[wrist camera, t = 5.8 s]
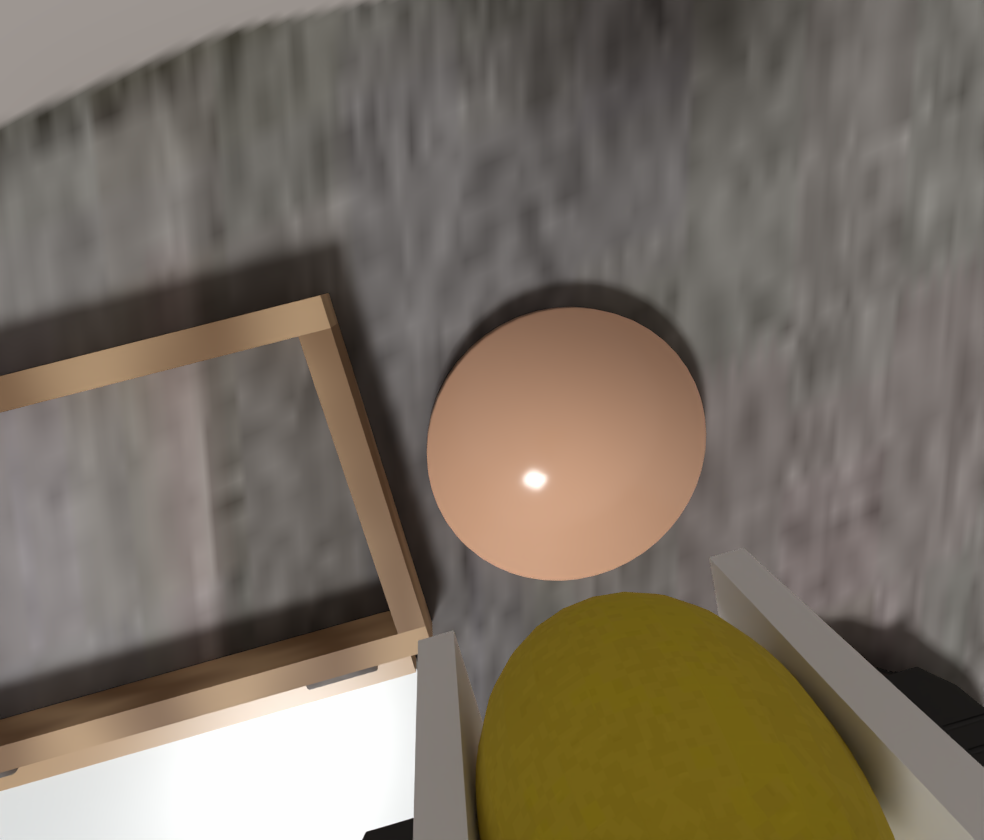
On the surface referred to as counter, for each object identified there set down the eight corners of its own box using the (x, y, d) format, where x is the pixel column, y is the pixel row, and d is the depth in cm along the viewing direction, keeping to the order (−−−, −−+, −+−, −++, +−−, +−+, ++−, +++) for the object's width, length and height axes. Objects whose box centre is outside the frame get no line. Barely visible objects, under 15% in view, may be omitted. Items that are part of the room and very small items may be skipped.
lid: (57, 970, 30) (44, 993, 29) (-71, 772, 26) (-89, 791, 25) (477, 843, 31) (479, 861, 30) (409, 637, 27) (408, 650, 26)
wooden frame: (-94, 785, 26) (-135, 826, 24) (-314, 455, 22) (-384, 473, 20) (436, 635, 28) (437, 662, 26) (328, 292, 23) (320, 295, 21)
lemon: (747, 669, 13) (1173, 1215, 6) (533, 780, 14) (670, 1451, 6) (652, 472, 12) (1060, 863, 4) (412, 601, 12) (387, 1198, 4)
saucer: (465, 599, 27) (467, 611, 26) (392, 347, 24) (391, 351, 23) (712, 529, 28) (722, 539, 27) (674, 275, 25) (684, 275, 24)
